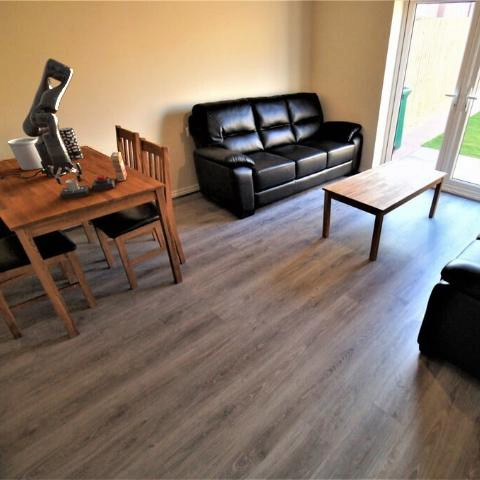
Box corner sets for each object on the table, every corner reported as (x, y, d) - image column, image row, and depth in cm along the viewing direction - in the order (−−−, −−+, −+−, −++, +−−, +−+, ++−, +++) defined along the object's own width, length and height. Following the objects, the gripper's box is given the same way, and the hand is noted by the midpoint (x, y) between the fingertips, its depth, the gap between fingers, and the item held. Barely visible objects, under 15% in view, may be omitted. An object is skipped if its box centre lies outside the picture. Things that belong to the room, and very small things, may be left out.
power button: (97, 181, 183) (96, 177, 182) (98, 178, 186) (97, 175, 185) (105, 180, 184) (104, 176, 183) (106, 177, 187) (105, 174, 186)
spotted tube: (73, 155, 235) (62, 127, 225) (85, 155, 236) (75, 127, 225) (67, 159, 228) (55, 130, 218) (79, 159, 229) (68, 130, 218)
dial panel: (61, 200, 172) (59, 194, 171) (65, 193, 180) (62, 187, 178) (88, 196, 177) (86, 190, 175) (90, 189, 184) (88, 184, 183)
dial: (68, 191, 174) (64, 182, 171) (70, 188, 178) (66, 179, 175) (78, 190, 176) (74, 181, 173) (80, 187, 179) (76, 178, 177)
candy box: (125, 180, 196) (117, 155, 188) (118, 181, 195) (109, 156, 187) (127, 175, 204) (120, 151, 195) (120, 176, 202) (112, 152, 194)
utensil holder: (46, 161, 224) (34, 136, 215) (50, 166, 215) (38, 140, 206) (19, 166, 215) (5, 140, 206) (22, 172, 206) (8, 144, 197)
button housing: (94, 191, 182) (90, 183, 180) (95, 185, 189) (92, 177, 187) (114, 188, 186) (111, 180, 183) (114, 183, 193) (112, 175, 190)
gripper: (75, 150, 171) (87, 179, 180) (43, 153, 166) (56, 182, 175) (73, 154, 166) (85, 183, 174) (39, 157, 160) (53, 187, 169)
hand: (70, 183), depth 174 cm, fingers open, 8 cm apart
